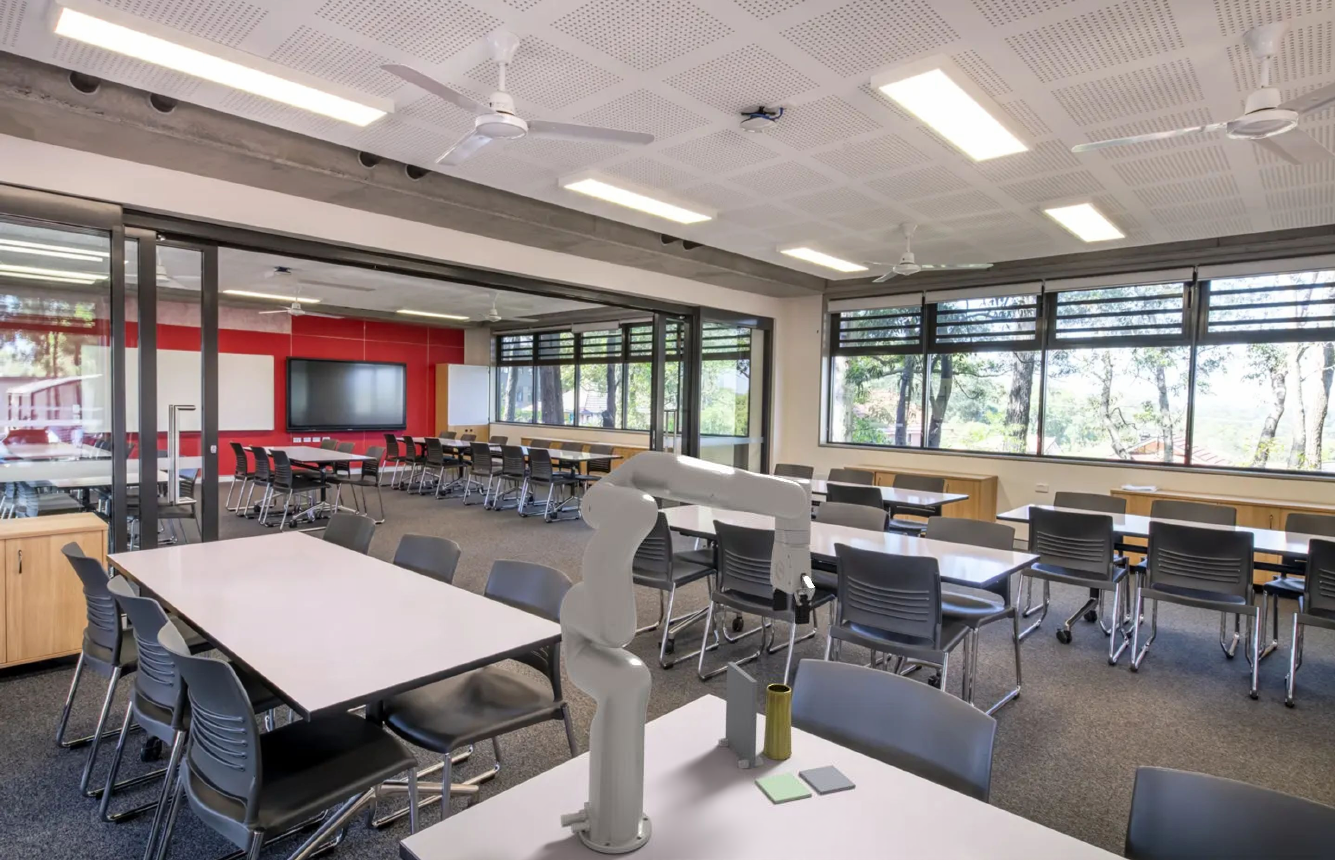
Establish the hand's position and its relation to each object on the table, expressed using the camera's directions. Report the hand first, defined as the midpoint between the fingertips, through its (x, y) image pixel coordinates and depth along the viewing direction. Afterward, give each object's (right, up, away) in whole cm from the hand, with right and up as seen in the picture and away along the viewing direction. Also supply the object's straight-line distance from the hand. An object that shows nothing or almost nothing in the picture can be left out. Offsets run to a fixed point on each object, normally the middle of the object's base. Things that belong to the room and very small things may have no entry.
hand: (790, 616), depth 147 cm
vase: (-2, -31, +3) cm, 31 cm away
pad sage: (-3, -31, -11) cm, 33 cm away
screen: (-11, -30, +2) cm, 32 cm away
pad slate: (+6, -31, -8) cm, 32 cm away
